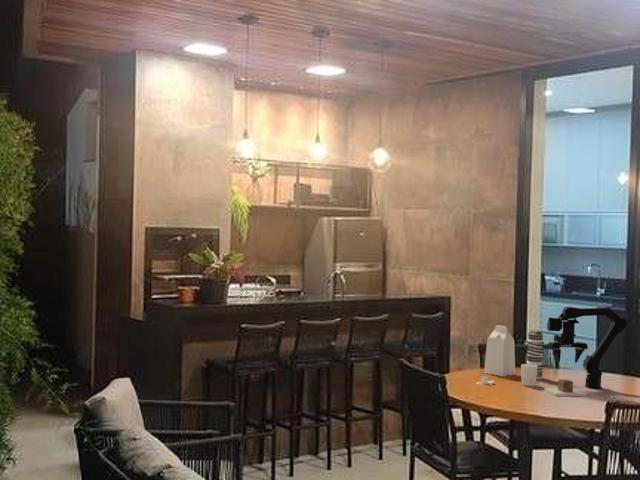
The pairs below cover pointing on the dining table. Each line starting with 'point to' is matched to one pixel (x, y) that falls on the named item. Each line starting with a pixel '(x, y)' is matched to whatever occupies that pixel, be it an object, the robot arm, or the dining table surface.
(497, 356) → the milk
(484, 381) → the teacup and saucer
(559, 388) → the walnut block
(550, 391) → the plate
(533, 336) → the decorative candle
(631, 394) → the dining table surface
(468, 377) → the dining table surface
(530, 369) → the white cup
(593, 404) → the dining table surface
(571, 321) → the robot arm
